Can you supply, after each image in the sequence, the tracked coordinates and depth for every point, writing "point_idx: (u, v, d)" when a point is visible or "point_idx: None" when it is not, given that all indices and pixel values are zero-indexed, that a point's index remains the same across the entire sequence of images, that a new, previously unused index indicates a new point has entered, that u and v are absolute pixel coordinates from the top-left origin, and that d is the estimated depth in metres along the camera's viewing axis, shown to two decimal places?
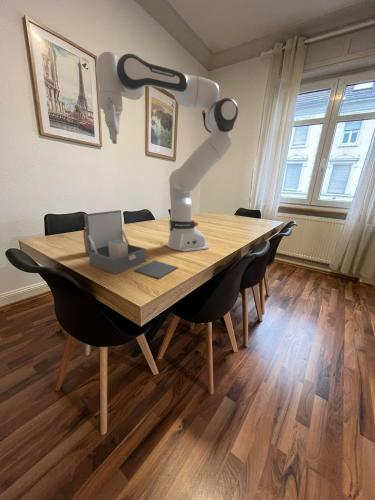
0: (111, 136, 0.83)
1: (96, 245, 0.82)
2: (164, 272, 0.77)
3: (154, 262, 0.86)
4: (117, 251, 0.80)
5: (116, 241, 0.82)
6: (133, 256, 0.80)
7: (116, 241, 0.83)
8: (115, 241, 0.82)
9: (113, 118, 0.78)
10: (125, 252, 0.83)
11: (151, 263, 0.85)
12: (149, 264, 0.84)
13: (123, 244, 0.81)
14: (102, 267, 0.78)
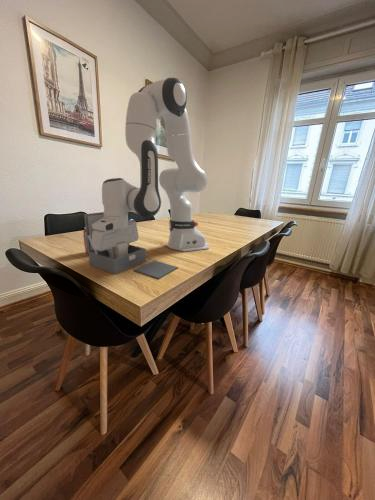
0: None
1: None
2: (164, 272, 0.77)
3: (154, 262, 0.86)
4: (117, 251, 0.80)
5: None
6: (133, 256, 0.80)
7: None
8: None
9: None
10: (125, 252, 0.83)
11: (151, 263, 0.85)
12: (149, 264, 0.84)
13: (123, 244, 0.81)
14: (102, 267, 0.78)
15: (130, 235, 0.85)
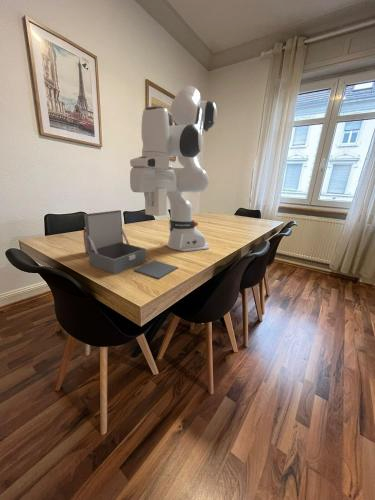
0: None
1: (96, 245, 0.82)
2: (164, 272, 0.77)
3: (154, 262, 0.86)
4: (156, 197, 0.69)
5: None
6: (133, 256, 0.80)
7: None
8: None
9: None
10: (164, 200, 0.71)
11: (151, 263, 0.85)
12: (149, 264, 0.84)
13: (163, 190, 0.70)
14: (102, 267, 0.78)
15: (169, 183, 0.74)
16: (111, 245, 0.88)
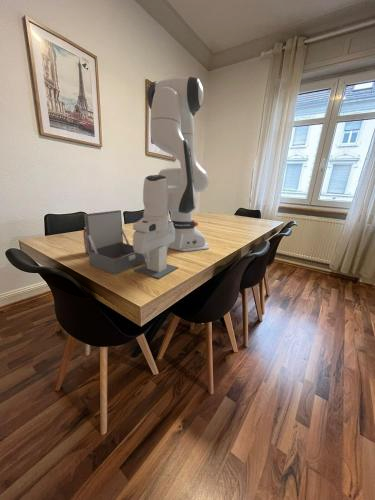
0: None
1: (96, 245, 0.82)
2: (164, 272, 0.77)
3: None
4: (157, 256, 0.75)
5: None
6: (133, 256, 0.80)
7: None
8: None
9: None
10: (164, 257, 0.78)
11: None
12: None
13: (163, 248, 0.76)
14: (102, 267, 0.78)
15: (168, 237, 0.80)
16: (111, 245, 0.88)
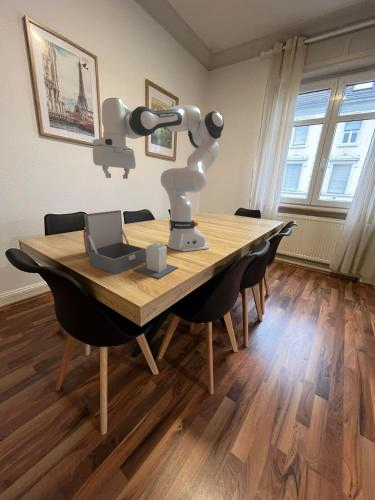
0: None
1: (96, 245, 0.82)
2: (164, 272, 0.77)
3: None
4: (157, 256, 0.75)
5: (155, 245, 0.77)
6: (133, 256, 0.80)
7: (155, 245, 0.78)
8: (154, 245, 0.77)
9: None
10: (164, 257, 0.78)
11: None
12: None
13: (163, 248, 0.76)
14: (102, 267, 0.78)
15: (128, 160, 0.93)
16: (111, 245, 0.88)
